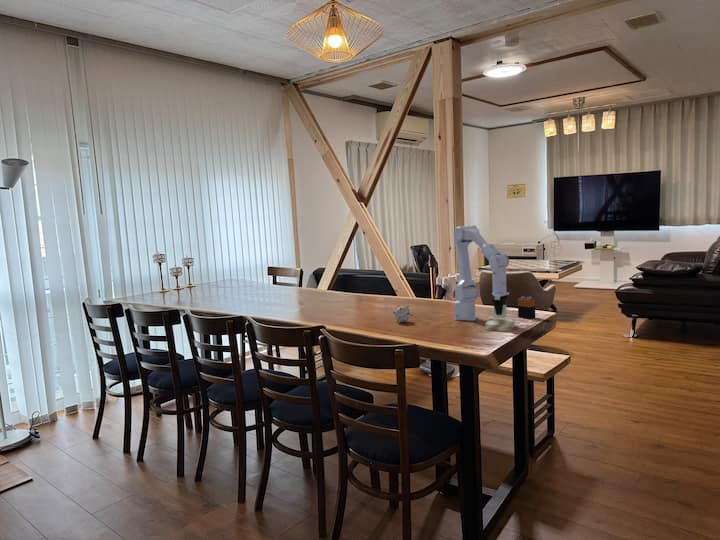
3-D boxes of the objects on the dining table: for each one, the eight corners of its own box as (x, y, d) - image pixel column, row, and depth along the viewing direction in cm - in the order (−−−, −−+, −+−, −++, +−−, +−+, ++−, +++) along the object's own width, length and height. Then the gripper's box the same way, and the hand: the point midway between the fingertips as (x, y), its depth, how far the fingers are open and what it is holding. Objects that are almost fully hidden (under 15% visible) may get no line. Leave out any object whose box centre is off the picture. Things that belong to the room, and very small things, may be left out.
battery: (530, 319, 232) (529, 298, 231) (517, 317, 238) (517, 296, 237) (535, 318, 235) (535, 296, 234) (523, 316, 240) (523, 295, 239)
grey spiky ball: (406, 329, 240) (418, 312, 240) (400, 326, 233) (413, 309, 232) (392, 318, 244) (404, 301, 244) (386, 316, 237) (398, 298, 236)
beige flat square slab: (485, 331, 216) (484, 324, 216) (489, 325, 226) (489, 318, 226) (511, 332, 212) (511, 325, 212) (514, 326, 222) (514, 320, 222)
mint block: (494, 317, 217) (493, 306, 217) (495, 315, 221) (495, 304, 221) (505, 318, 215) (504, 306, 215) (506, 316, 220) (506, 304, 219)
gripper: (506, 285, 209) (507, 317, 210) (511, 280, 222) (511, 310, 223) (489, 284, 211) (490, 316, 213) (494, 280, 225) (495, 310, 226)
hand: (499, 313), depth 218 cm, fingers closed on mint block, 5 cm apart
